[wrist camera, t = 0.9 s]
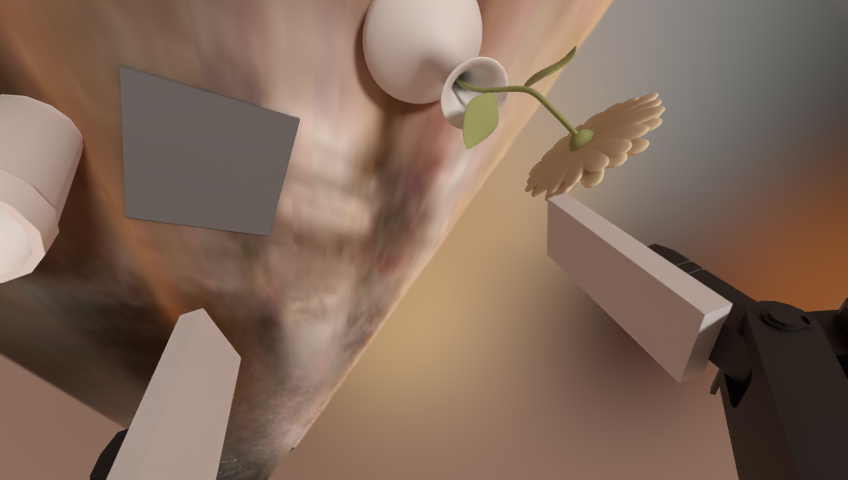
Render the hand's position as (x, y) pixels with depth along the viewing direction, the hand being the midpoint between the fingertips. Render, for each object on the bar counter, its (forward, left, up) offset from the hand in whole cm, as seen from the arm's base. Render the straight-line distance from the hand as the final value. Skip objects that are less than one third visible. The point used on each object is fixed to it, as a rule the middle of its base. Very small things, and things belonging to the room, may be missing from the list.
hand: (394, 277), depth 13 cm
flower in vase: (-5, +9, -28) cm, 29 cm away
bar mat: (+15, -7, -27) cm, 32 cm away
